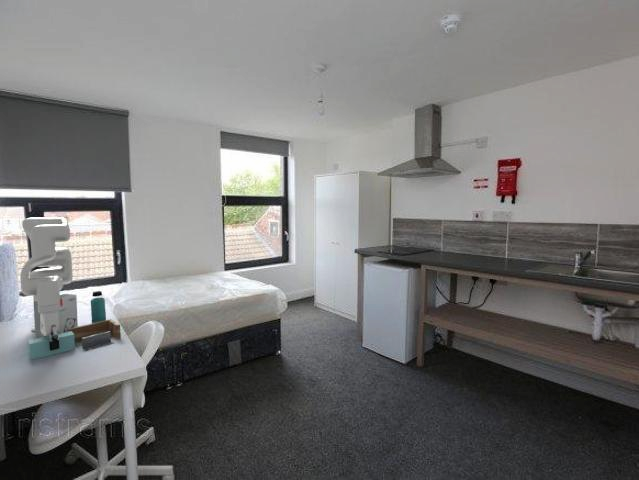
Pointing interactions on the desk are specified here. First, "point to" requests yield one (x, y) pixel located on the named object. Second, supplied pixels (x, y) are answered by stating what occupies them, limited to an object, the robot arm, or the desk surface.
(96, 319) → the beverage bottle
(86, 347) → the grey bookend
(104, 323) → the walnut rack
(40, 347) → the mint green box
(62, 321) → the hard drive box
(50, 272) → the robot arm
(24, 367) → the desk surface
